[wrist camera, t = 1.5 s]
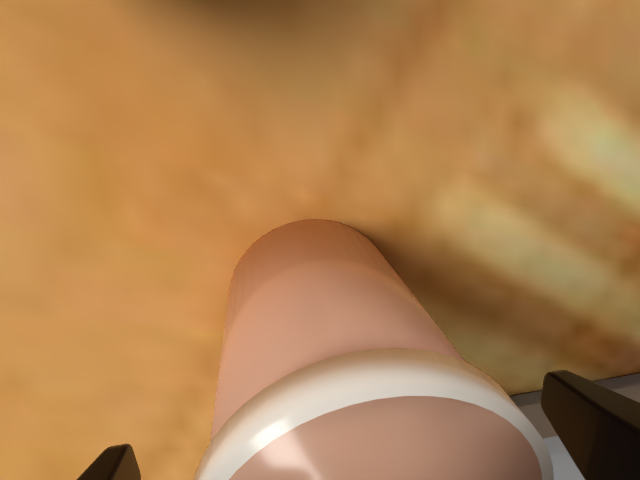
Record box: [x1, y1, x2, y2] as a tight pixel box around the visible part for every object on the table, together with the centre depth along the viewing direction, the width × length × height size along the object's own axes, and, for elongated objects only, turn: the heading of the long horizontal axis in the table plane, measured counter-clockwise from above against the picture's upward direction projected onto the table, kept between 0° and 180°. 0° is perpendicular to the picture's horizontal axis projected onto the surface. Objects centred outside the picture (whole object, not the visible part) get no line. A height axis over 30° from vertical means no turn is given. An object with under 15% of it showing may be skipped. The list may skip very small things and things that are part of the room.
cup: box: [194, 220, 554, 480], centre depth 10 cm, size 6×6×8 cm
